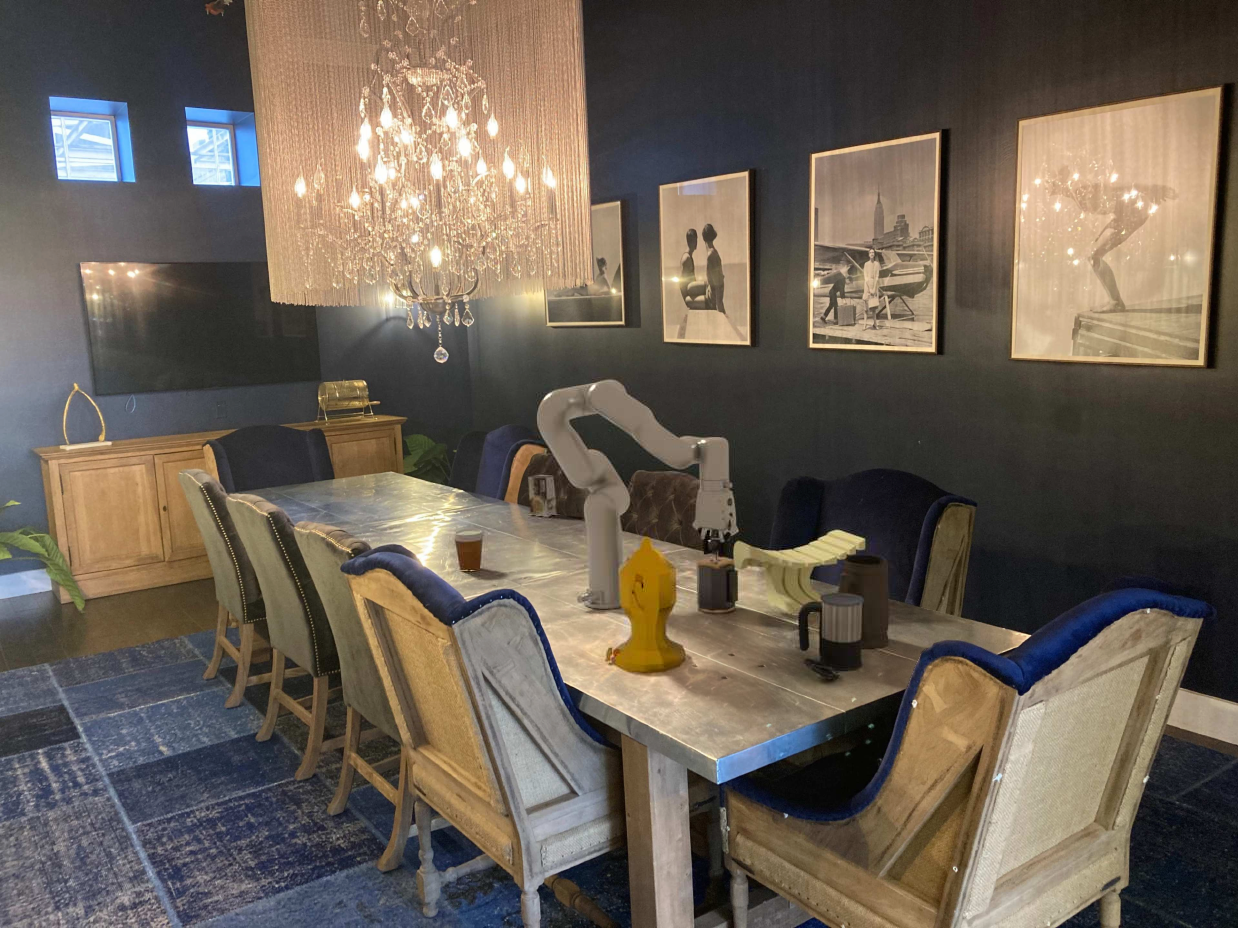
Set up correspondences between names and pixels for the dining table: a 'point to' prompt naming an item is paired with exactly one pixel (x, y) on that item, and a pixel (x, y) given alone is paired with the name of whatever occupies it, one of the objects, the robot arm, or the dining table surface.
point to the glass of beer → (469, 548)
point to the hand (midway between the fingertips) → (715, 554)
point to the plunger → (714, 547)
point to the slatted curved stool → (796, 567)
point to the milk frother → (834, 633)
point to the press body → (716, 586)
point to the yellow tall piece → (647, 612)
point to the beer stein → (869, 595)
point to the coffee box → (542, 495)
